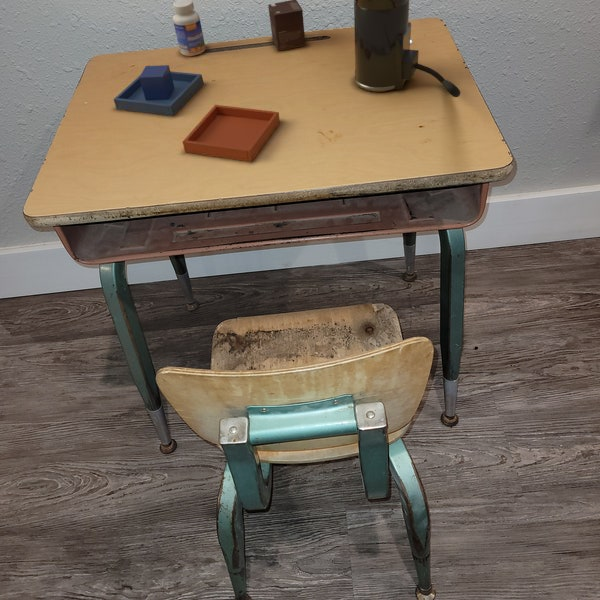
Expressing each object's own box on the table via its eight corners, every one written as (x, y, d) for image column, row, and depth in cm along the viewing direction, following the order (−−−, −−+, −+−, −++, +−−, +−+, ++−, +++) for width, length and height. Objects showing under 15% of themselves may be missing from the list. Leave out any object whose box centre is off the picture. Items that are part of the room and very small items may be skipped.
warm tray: (280, 122, 103) (278, 112, 101) (251, 161, 95) (249, 151, 94) (217, 114, 106) (215, 104, 105) (185, 152, 99) (182, 141, 97)
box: (306, 46, 123) (303, 9, 117) (277, 51, 122) (273, 14, 117) (299, 34, 127) (296, -2, 121) (271, 39, 126) (267, 3, 121)
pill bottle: (193, 58, 123) (183, 10, 116) (175, 53, 125) (163, 5, 118) (211, 48, 126) (201, 0, 119) (193, 43, 128) (182, -5, 121)
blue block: (174, 87, 114) (168, 64, 111) (168, 99, 111) (162, 76, 108) (152, 88, 114) (145, 65, 111) (145, 100, 111) (138, 77, 108)
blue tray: (203, 84, 115) (201, 74, 113) (173, 116, 107) (170, 106, 106) (149, 78, 119) (147, 68, 117) (116, 109, 111) (113, 99, 110)
